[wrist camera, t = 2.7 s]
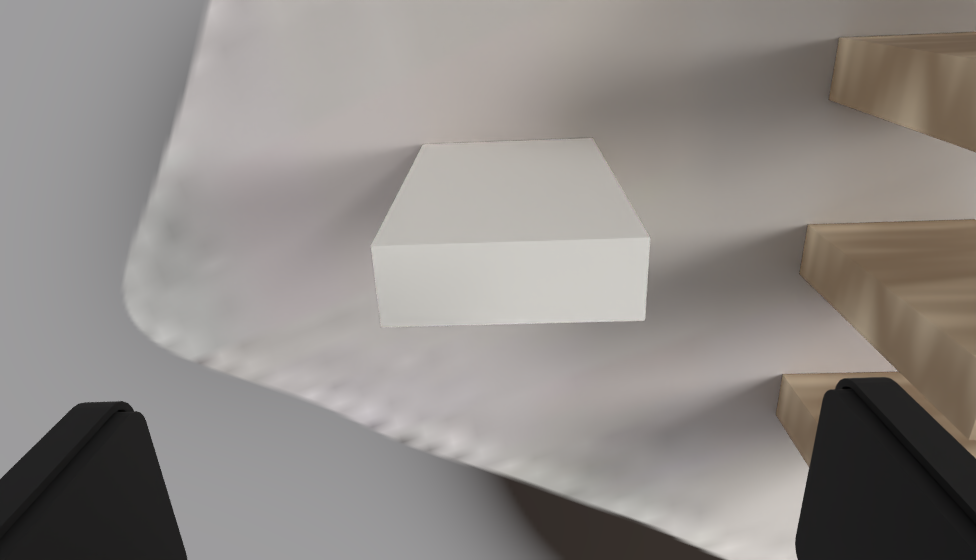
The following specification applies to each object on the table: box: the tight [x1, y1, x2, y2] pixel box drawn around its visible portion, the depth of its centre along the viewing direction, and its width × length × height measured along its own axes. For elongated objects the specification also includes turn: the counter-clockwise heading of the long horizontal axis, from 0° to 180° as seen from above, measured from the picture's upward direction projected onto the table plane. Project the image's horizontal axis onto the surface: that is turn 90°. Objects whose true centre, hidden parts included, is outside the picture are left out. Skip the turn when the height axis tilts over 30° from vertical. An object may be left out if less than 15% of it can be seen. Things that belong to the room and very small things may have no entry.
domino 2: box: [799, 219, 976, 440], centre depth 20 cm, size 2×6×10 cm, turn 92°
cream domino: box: [371, 138, 650, 328], centre depth 19 cm, size 2×6×10 cm, turn 93°
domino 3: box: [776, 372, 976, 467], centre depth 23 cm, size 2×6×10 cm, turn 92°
